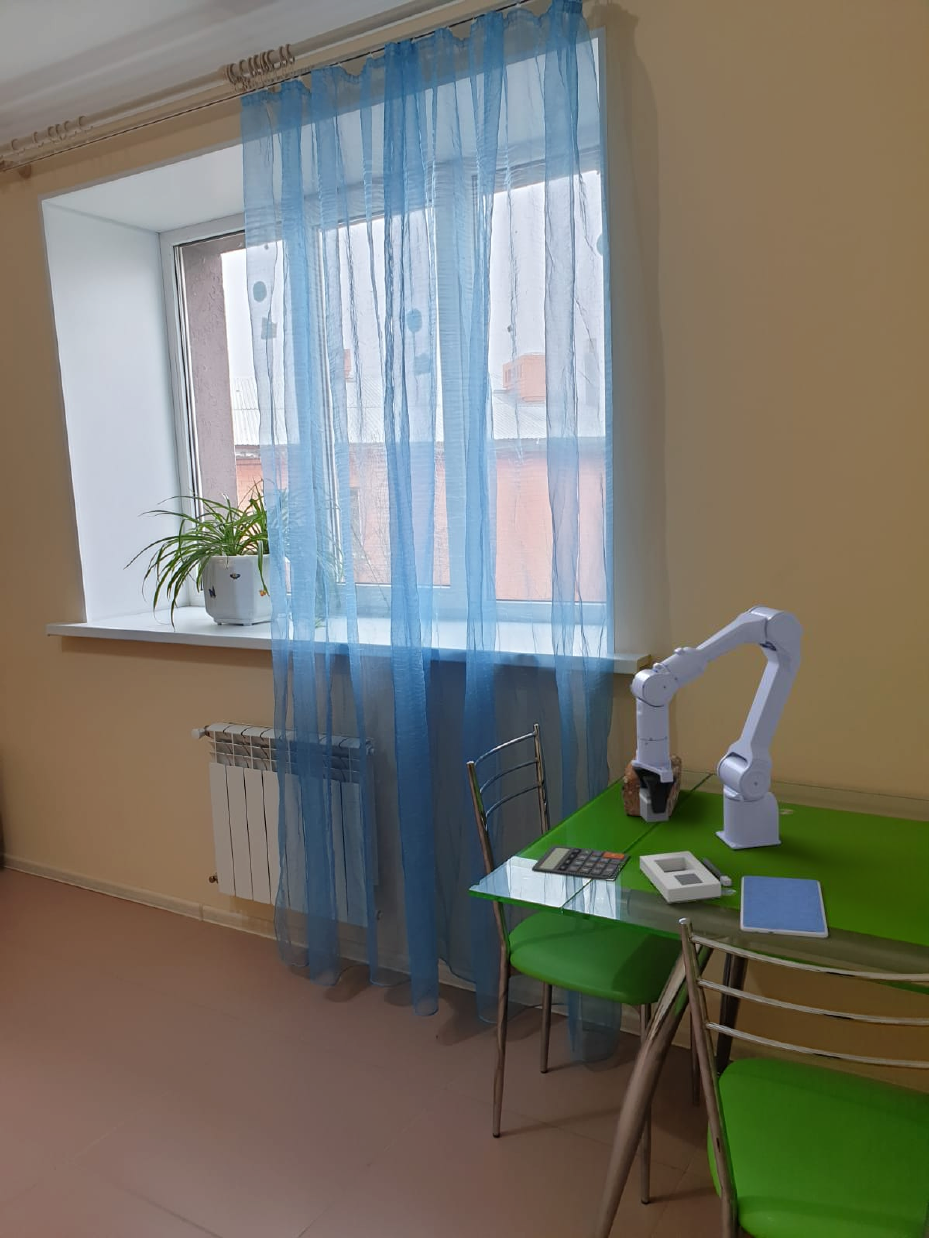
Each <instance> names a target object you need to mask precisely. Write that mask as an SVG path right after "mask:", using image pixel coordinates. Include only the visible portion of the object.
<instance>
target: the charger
mask: <svg viewBox="0 0 929 1238" xmlns="http://www.w3.org/2000/svg"><path fill="white" fill-rule="evenodd" d="M639 796H640V815H641V816H640V817H642V818H643V819H644V820H645V822H646V823H654V822H664V821H669V817H670V816H668V803H667V807H666V811H665V813H659V814H654V813H653V811H652V807H651V800H650V794H649V790H648V788H643V789H640V793H639ZM668 802H669V798H668Z"/></svg>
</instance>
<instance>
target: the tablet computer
mask: <svg viewBox="0 0 929 1238" xmlns="http://www.w3.org/2000/svg"><path fill="white" fill-rule="evenodd" d="M740 885H741V886H740V887H741V888H740V890H741V891H740V892H741V893H740V894H741V896H740V916H739V917H740V920H739V921H740V929H741V931H743V932H749V933H751V932H752V933H763V934H774V935H775V934H776V935H783V936H784V935H787V936H800V937H810V938H820V939H824V938H827V937H828V936H829V932H828V925H827V919H826V914H825V913H826V912H825V911H826V910H825V906H824V900H823V894H822V888H821V884H820V881H818V880H815V879H805V878H787V877H772V876H770V877H769V876H756V875H754V876H753V875H745V876H742V877H741V884H740Z"/></svg>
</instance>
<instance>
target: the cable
mask: <svg viewBox="0 0 929 1238" xmlns="http://www.w3.org/2000/svg"><path fill="white" fill-rule="evenodd" d="M702 863H703V864H704V865H705V867H707V868H708V869H709V870H710V871H711V873H713V874H714V875H715V877H717V879H718V880H719V882H720V883H721V885H723V886H724V887H728V886H732V879H731V878H729V877H728V875H724V874H723V873H722V872H721V871H720V870H719V869H718V868H717V867H716V866H715V865H713V863H711V862H710V860H708V858H706V857H703V858H702Z"/></svg>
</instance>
